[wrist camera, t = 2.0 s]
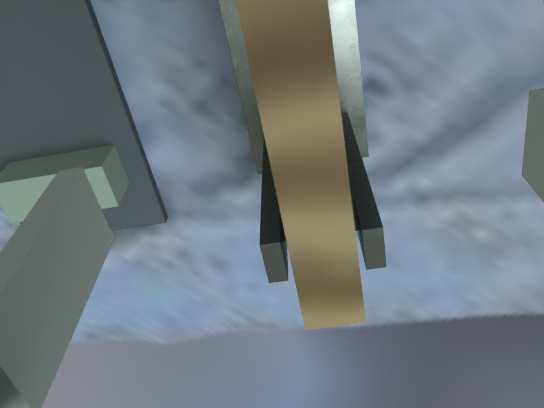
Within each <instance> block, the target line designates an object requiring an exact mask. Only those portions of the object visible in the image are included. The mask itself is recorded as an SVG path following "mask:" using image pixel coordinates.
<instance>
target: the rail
mask: <svg viewBox="0 0 544 408" xmlns="http://www.w3.org/2000/svg"><path fill="white" fill-rule="evenodd" d="M236 5H237V10H238V15H239V19H240V24H241V29H242V33H243V38H244V43H245V48H246V52H247V57H248V62H249V66H250V71H251V76H252V81H253V85H254V90H255V95H256V99H257V104H258V109H259V114H260V118H261V123H262V128H263V132H264V137H265V142H266V147H267V151H268V156H269V161H270V166H271V170H272V175H273V180H274V184H275V189H276V194H277V199H278V203H279V208H280V213H281V217H282V222H283V227H284V232H285V236H286V241H287V246H288V250H289V255H290V260H291V265H292V269H293V274H294V279H295V283H296V288H297V293H298V298H299V302H300V307H301V312H302V316H303V321H304V326H305V330H309V329H317V328H325V327H333V326H341V325H349V324H356V323H364V322H366V319H365V311H364V302H363V294H362V285H361V277H360V268H359V260H358V251H357V243H356V234H355V226H354V217H353V209H352V201H351V192H350V184H349V175H348V167H347V158H346V150H345V141H344V133H343V124H342V116H341V107H340V99H339V90H338V82H337V74H336V65H335V57H334V48H333V40H332V31H331V23H330V14H329V6H328V0H236Z"/></svg>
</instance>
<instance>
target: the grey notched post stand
mask: <svg viewBox="0 0 544 408" xmlns="http://www.w3.org/2000/svg"><path fill="white" fill-rule="evenodd" d="M218 1H219V6H220V10H221V14H222V19H223V23H224V28H225V32H226V36H227V41H228V45H229V49H230V54H231V58H232V62H233V67H234V71H235V75H236V80H237V84H238V88H239V93H240V97H241V102H242V106H243V110H244V115H245V119H246V123H247V128H248V132H249V136H250V141H251V145H252V149H253V154H254V158H255V163H256V167H257V171H258V174H262V194H261V222H260V249H261V253H262V257H263V261H264V265H265V269H266V273H267V277H268V281H269V283H273V282H280V281H288V260H287V241H286V236H285V232H284V227H283V222H282V217H281V213H280V208H279V203H278V199H277V194H276V189H275V184H274V180H273V175H272V170H271V166H270V161H269V156H268V151H267V147H266V142H265V137H264V132H263V128H262V123H261V118H260V114H259V109H258V104H257V99H256V95H255V90H254V85H253V81H252V76H251V71H250V66H249V62H248V57H247V52H246V48H245V43H244V38H243V33H242V29H241V24H240V19H239V15H238V10H237V5H236V0H218ZM328 6H329V14H330V23H331V31H332V40H333V48H334V57H335V65H336V74H337V82H338V90H339V99H340V107H341V116H342V124H343V133H344V141H345V150H346V158H347V167H348V175H349V184H350V192H351V201H352V209H353V217H354V226H355V231H357V232H358V236H359V240H360V244H361V249H362V253H363V257H364V262H365V266H366V270H367V269H375V268H382V267H386V257H385V245H384V232H383V225H382V222H381V219H380V216H379V212H378V209H377V206H376V203H375V199H374V196H373V193H372V190H371V186H370V183H369V180H368V177H367V173H366V170H365V167H364V164H363V160H362V157H369V155H368V144H367V133H366V122H365V111H364V100H363V89H362V78H361V67H360V56H359V45H358V34H357V23H356V12H355V1H354V0H328Z"/></svg>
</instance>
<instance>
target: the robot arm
mask: <svg viewBox="0 0 544 408" xmlns="http://www.w3.org/2000/svg"><path fill="white" fill-rule="evenodd" d="M522 176H523V177H524V179H525V180H526V181H527V182H528V184H529V185H530V186H531V187H532V188H533V190H534V191H535V192H536V193H537V194H538V196H539V197H540V198H541V199H542V201H543V202H544V88H541V89H535V90H530V91H529V102H528V113H527V124H526V134H525V145H524V156H523V167H522ZM113 240H114V237H113V234H112V232H111V230H110V228H109V225H108V223H107V221H106V219H105V216H104V214H103V212H102V210H101V207H100V205H99V203H98V201H97V198H96V196H95V194H94V192H93V189H92V187H91V185H90V183H89V180H88V178H87V176H86V173H85V171H84V169H83V167H78V168H72V169H66V170H60V171H58V173H57V174H56V175H55V177H54V178H53V180H52V181H51V182H50V184H49V185H48V187H47V188H46V189H45V191H44V192H43V194H42V195H41V196H40V198H39V199H38V201H37V202H36V203H35V205H34V206H33V208H32V209H31V210H30V212H29V213H28V215H27V216H26V217H25V219H24V220H23V222H22V223H21V224H20V226H19V227H18V229H17V230H16V231H15V233H14V234H13V236H12V237H11V238H10V240H9V241H8V243H7V244H6V246H5V247H4V248H3V250H2V251H1V253H0V408H41V407H42V405H43V403H44V401H45V398H46V396H47V393H48V391H49V389H50V386H51V384H52V382H53V380H54V377H55V375H56V373H57V370H58V368H59V366H60V363H61V361H62V359H63V356H64V354H65V352H66V349H67V347H68V345H69V342H70V340H71V338H72V335H73V333H74V331H75V328H76V326H77V324H78V321H79V319H80V317H81V314H82V312H83V310H84V308H85V305H86V303H87V301H88V298H89V296H90V294H91V291H92V289H93V287H94V284H95V282H96V280H97V277H98V275H99V273H100V270H101V268H102V266H103V263H104V261H105V259H106V256H107V254H108V252H109V249H110V247H111V245H112V242H113Z"/></svg>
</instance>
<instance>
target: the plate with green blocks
mask: <svg viewBox="0 0 544 408" xmlns="http://www.w3.org/2000/svg"><path fill="white" fill-rule="evenodd" d="M78 167H83V169H84V171H85V173H86V176H87V178H88V180H89V183H90V185H91V187H92V189H93V192H94V194H95V196H96V198H97V201H98V203H99V205H100V207H101V210H102V212H103V214H104V216H105V219H106V221H107V223H108V225H109V228H110V230H111V231H114V230H121V229H128V228H134V227H141V226H147V225H154V224H160V223H166V221H167V218H168V216H167V213H166V211H165V208H164V205H163V202H162V199H161V197H160V194H159V191H158V188H157V186H156V183H155V180H154V177H153V174H152V172H151V169H150V166H149V163H148V161H147V158H146V155H145V152H144V149H143V147H142V144H141V141H140V138H139V136H138V133H137V130H136V127H135V124H134V122H133V119H132V116H131V113H130V111H129V108H128V105H127V102H126V99H125V97H124V94H123V91H122V88H121V86H120V83H119V80H118V77H117V74H116V72H115V69H114V66H113V63H112V61H111V58H110V55H109V52H108V50H107V47H106V44H105V41H104V38H103V36H102V33H101V30H100V27H99V25H98V22H97V19H96V16H95V13H94V11H93V8H92V5H91V2H90V0H0V206H1V207H2V209H3V211H4V213H5V214H6V216H7V218H8V220H9V221H10V223H16V222H20V223H22V222H23V220H24V219H25V217H26V216H27V215H28V213H29V212H30V210H31V209H32V208H33V206H34V205H35V203H36V202H37V201H38V199H39V198H40V196H41V195H42V194H43V192H44V191H45V189H46V188H47V187H48V185H49V184H50V182H51V181H52V180H53V178H54V177H55V175H56V174H57V173H58V171H60V170H66V169H72V168H78Z"/></svg>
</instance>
